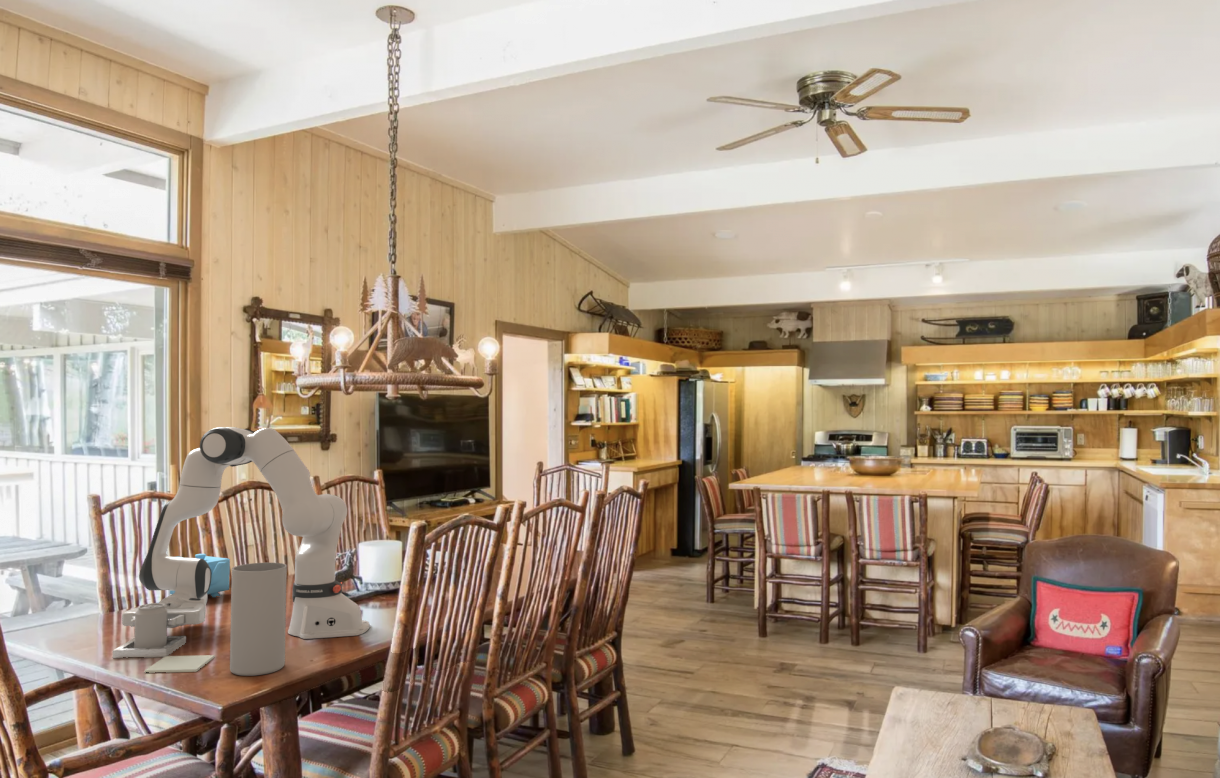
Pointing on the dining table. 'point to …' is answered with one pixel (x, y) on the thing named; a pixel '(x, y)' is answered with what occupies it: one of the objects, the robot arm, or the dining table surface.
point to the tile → (180, 663)
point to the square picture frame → (130, 651)
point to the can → (151, 626)
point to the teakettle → (216, 574)
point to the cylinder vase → (258, 618)
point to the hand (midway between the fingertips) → (152, 623)
